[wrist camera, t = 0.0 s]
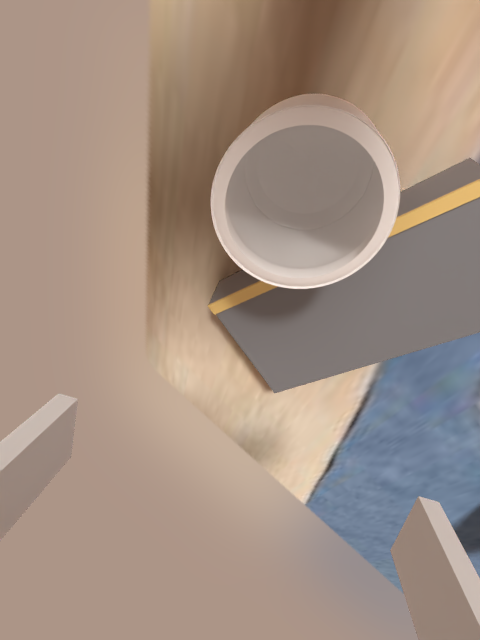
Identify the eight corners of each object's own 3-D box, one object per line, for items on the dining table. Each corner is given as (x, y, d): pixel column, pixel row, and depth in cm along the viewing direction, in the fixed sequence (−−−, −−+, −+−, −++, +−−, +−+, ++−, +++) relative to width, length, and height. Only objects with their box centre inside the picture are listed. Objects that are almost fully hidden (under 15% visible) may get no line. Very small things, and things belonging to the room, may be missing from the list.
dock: (469, 157, 30) (493, 173, 26) (507, 288, 36) (532, 318, 32) (219, 281, 42) (207, 306, 37) (278, 365, 47) (274, 395, 43)
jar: (278, 228, 37) (256, 310, 25) (230, 125, 32) (176, 165, 20) (386, 183, 33) (423, 255, 21) (349, 57, 28) (369, 55, 16)
